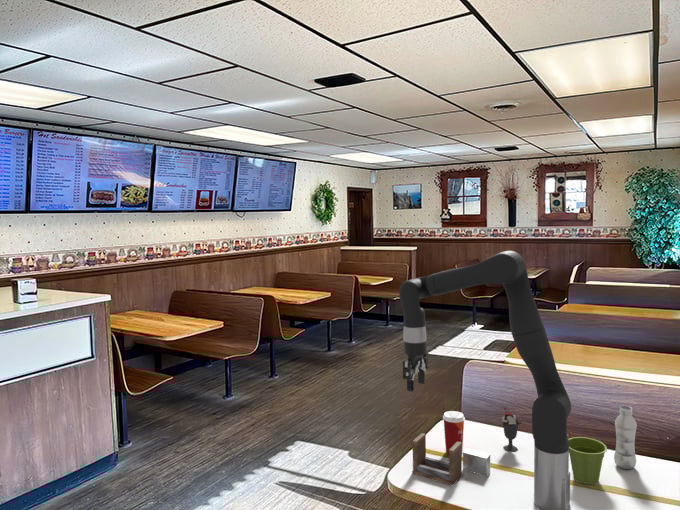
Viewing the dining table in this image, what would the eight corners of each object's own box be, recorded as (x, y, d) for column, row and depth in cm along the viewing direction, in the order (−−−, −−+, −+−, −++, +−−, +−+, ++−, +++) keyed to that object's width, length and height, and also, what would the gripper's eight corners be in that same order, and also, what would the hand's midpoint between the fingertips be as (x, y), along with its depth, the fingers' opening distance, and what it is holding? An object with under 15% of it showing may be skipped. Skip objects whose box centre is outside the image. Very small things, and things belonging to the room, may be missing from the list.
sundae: (496, 447, 188) (496, 406, 186) (510, 443, 190) (510, 403, 189) (509, 454, 182) (509, 413, 180) (524, 450, 185) (524, 409, 183)
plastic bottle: (613, 469, 170) (614, 410, 168) (613, 460, 176) (614, 402, 174) (636, 473, 167) (637, 413, 165) (635, 464, 173) (637, 405, 171)
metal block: (490, 471, 171) (490, 453, 170) (486, 476, 168) (486, 458, 167) (466, 465, 175) (466, 448, 175) (462, 469, 172) (462, 452, 172)
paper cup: (465, 458, 180) (465, 419, 179) (442, 457, 181) (442, 418, 180) (464, 448, 187) (464, 410, 186) (443, 447, 189) (442, 409, 188)
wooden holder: (462, 474, 169) (462, 441, 168) (452, 485, 163) (452, 451, 162) (422, 463, 177) (422, 432, 176) (412, 473, 170) (411, 441, 170)
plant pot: (574, 466, 172) (575, 433, 172) (612, 479, 164) (613, 444, 163) (558, 479, 165) (558, 445, 164) (597, 493, 156) (597, 457, 155)
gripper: (415, 345, 164) (417, 395, 165) (434, 335, 176) (435, 382, 177) (394, 342, 168) (396, 391, 169) (414, 333, 180) (415, 379, 181)
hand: (416, 387), depth 173 cm, fingers open, 8 cm apart
